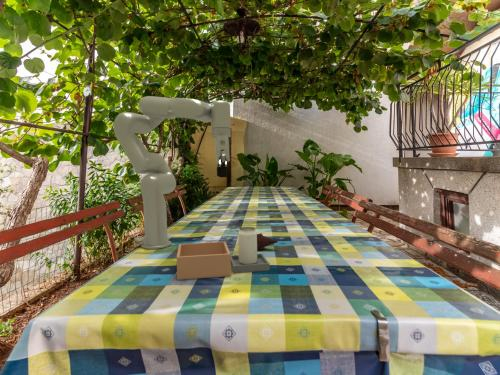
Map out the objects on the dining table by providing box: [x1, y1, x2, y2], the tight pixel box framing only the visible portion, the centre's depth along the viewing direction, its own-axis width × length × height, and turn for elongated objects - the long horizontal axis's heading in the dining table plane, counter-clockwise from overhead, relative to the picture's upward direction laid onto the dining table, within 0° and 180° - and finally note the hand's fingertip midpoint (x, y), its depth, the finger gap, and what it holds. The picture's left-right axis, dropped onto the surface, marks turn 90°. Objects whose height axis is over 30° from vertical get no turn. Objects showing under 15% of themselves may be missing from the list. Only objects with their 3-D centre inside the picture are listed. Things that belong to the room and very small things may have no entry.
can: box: [237, 226, 258, 265], centre depth 111 cm, size 6×6×12 cm
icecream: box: [257, 232, 279, 251], centre depth 131 cm, size 7×7×15 cm
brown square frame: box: [176, 241, 232, 281], centre depth 107 cm, size 17×17×7 cm
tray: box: [231, 253, 271, 274], centre depth 110 cm, size 12×12×2 cm
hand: (221, 176), depth 126 cm, fingers open, 9 cm apart
